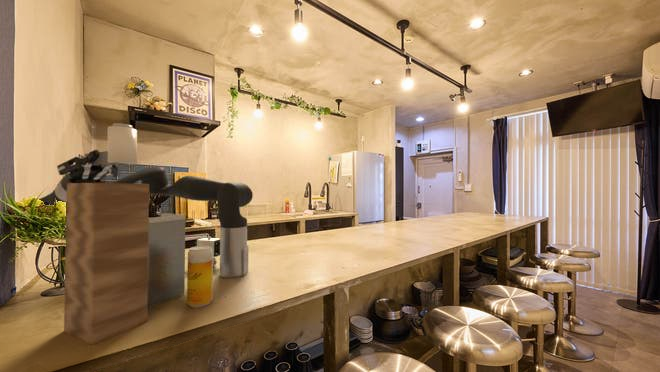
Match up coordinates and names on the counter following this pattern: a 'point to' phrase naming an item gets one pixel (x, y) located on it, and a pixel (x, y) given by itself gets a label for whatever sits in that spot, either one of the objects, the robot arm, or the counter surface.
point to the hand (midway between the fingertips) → (105, 153)
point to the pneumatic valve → (210, 242)
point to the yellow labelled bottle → (200, 276)
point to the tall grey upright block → (166, 258)
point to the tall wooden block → (106, 259)
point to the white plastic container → (119, 146)
